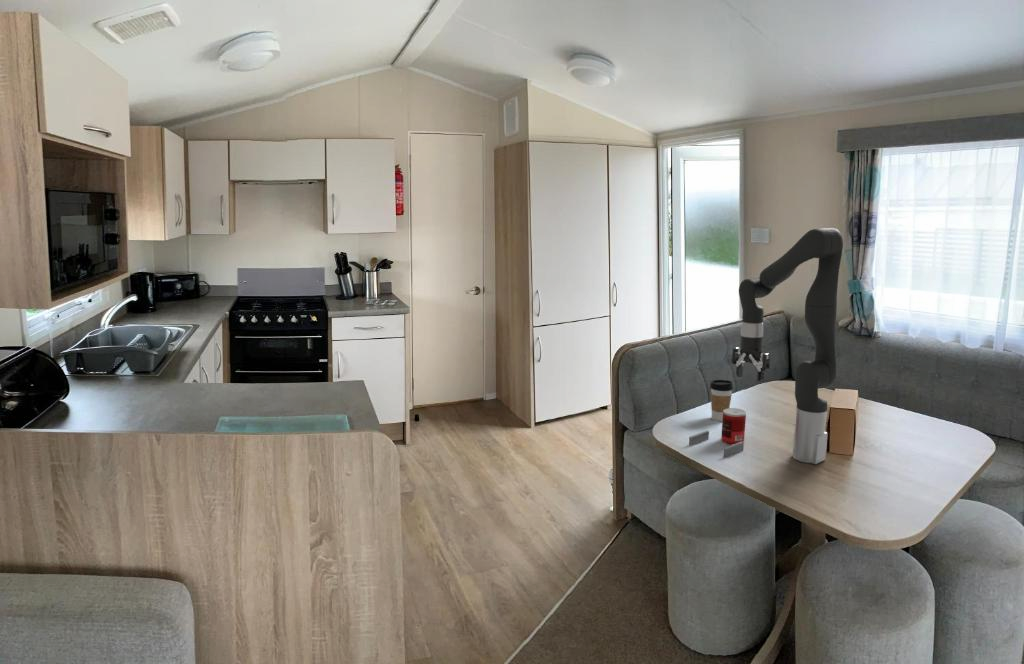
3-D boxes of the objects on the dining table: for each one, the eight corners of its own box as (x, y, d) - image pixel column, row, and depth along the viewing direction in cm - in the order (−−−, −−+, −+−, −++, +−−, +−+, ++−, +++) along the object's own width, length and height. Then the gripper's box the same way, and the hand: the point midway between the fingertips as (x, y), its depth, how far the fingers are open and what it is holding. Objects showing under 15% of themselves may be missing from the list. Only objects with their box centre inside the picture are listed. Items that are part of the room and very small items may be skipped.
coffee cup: (726, 423, 266) (728, 385, 263) (705, 419, 271) (707, 382, 268) (734, 417, 273) (736, 380, 270) (713, 413, 278) (715, 377, 275)
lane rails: (743, 450, 240) (743, 442, 239) (726, 457, 234) (726, 449, 233) (706, 438, 251) (706, 430, 251) (688, 445, 245) (689, 436, 244)
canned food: (746, 439, 250) (748, 410, 248) (740, 446, 243) (742, 416, 241) (724, 435, 254) (726, 406, 252) (718, 442, 247) (720, 412, 245)
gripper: (775, 336, 246) (773, 381, 249) (741, 330, 257) (739, 373, 260) (762, 339, 241) (760, 384, 244) (728, 332, 253) (726, 376, 256)
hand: (749, 378), depth 252 cm, fingers open, 8 cm apart
